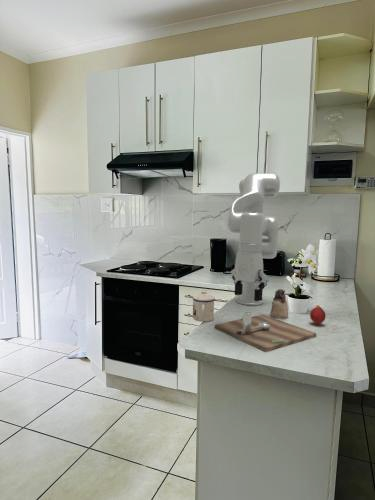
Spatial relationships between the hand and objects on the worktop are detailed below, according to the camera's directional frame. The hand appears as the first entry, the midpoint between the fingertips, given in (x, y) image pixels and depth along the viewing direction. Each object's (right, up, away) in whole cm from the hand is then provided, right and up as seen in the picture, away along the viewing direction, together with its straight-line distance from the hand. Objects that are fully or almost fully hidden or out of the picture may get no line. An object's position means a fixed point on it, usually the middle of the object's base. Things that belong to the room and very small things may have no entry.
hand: (247, 297), depth 118 cm
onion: (+31, -13, +17) cm, 38 cm away
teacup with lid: (-15, -12, +20) cm, 28 cm away
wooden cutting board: (+7, -14, +7) cm, 17 cm away
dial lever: (+3, -12, +4) cm, 13 cm away
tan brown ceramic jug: (+18, -12, +27) cm, 34 cm away
